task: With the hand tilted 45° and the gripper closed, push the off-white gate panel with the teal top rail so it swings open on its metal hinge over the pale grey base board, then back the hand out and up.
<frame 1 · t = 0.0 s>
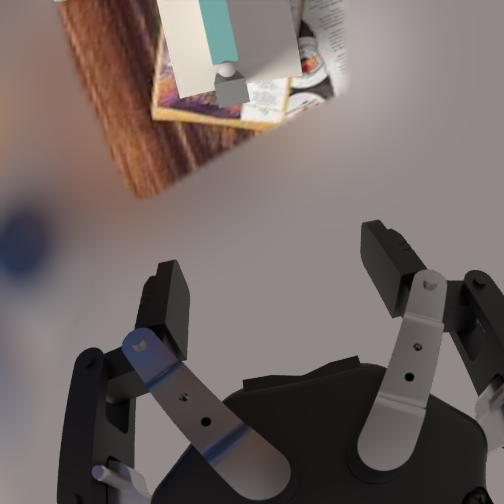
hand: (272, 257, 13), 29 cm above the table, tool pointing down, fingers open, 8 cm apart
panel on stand: (213, 12, 28), on the table
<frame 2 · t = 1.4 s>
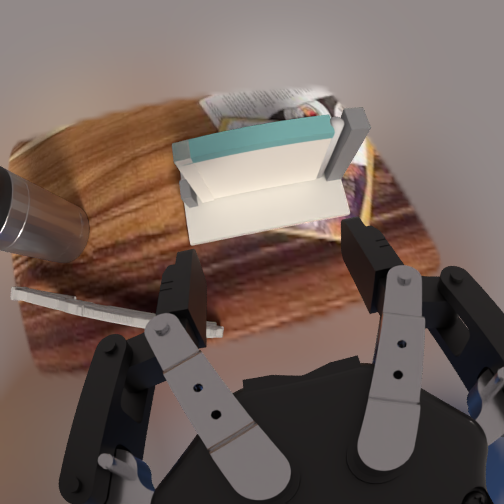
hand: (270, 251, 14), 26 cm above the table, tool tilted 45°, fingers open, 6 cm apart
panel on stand: (265, 185, 41), on the table
gate panel: (261, 162, 34), point 8 cm above the table, hinge at 0.0°
grey flat strip: (121, 312, 40), on the table
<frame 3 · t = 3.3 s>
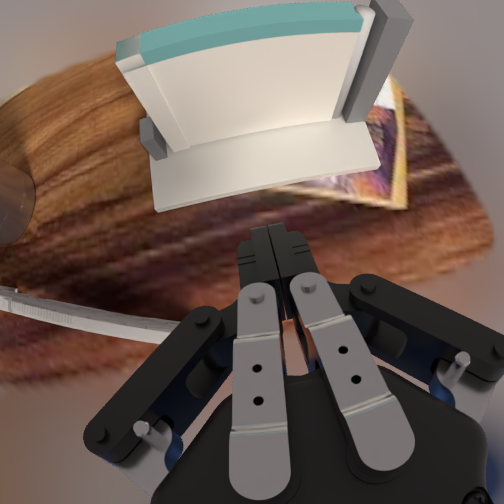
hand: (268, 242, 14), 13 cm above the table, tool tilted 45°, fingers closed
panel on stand: (262, 130, 29), on the table
gate panel: (254, 81, 21), point 8 cm above the table, hinge at 0.0°
grey flat strip: (67, 308, 28), on the table
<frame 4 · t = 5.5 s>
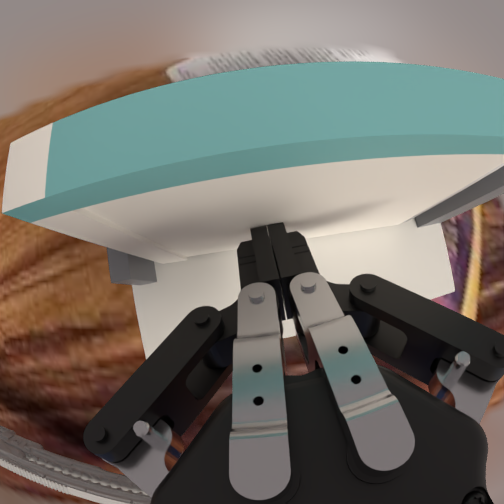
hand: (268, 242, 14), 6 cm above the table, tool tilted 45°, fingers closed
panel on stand: (297, 236, 20), on the table
gate panel: (303, 193, 12), point 8 cm above the table, hinge at 3.0°, touching gripper
grey flat strip: (57, 443, 19), on the table
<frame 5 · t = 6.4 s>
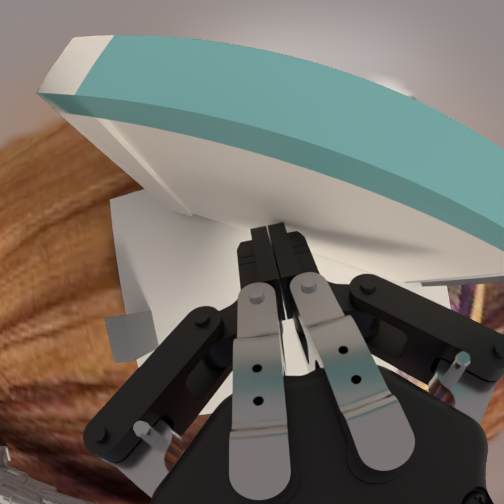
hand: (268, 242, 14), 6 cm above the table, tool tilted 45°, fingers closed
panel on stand: (300, 298, 19), on the table
gate panel: (317, 204, 12), point 8 cm above the table, hinge at 31.0°, touching gripper
grey flat strip: (70, 482, 18), on the table
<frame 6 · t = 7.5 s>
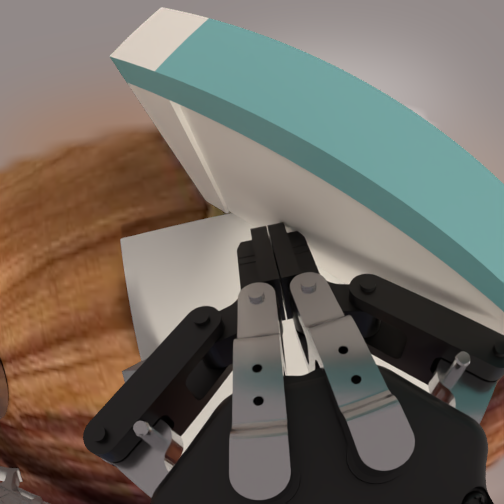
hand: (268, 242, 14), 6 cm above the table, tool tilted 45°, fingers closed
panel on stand: (315, 344, 19), on the table
gate panel: (362, 239, 12), point 8 cm above the table, hinge at 43.9°, touching gripper
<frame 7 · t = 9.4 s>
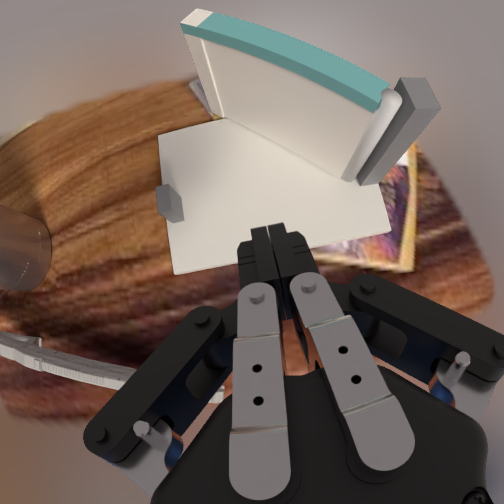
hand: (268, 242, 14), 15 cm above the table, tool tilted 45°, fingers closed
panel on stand: (277, 192, 30), on the table
gate panel: (283, 100, 23), point 8 cm above the table, hinge at 43.9°
grey flat strip: (93, 360, 29), on the table
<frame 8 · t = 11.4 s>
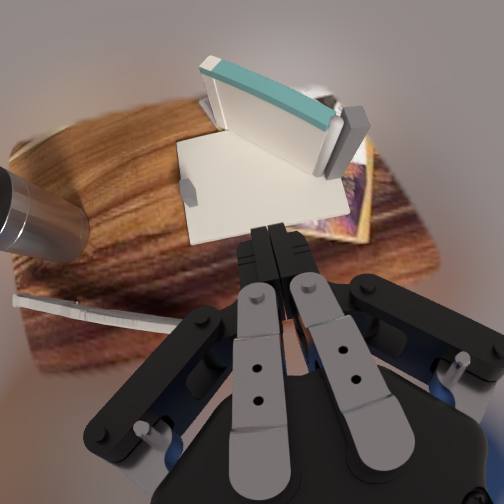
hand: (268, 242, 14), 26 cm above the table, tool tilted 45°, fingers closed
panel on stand: (265, 185, 41), on the table
gate panel: (269, 120, 34), point 8 cm above the table, hinge at 43.9°
grey flat strip: (123, 315, 40), on the table
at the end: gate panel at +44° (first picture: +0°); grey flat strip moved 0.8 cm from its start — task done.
